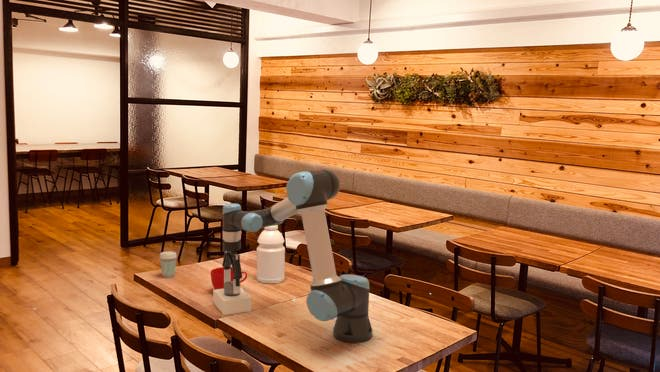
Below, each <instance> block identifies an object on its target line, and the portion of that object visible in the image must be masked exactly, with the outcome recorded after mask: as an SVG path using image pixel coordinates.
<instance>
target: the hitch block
mask: <svg viewBox="0 0 660 372" xmlns="http://www.w3.org/2000/svg"><path fill="white" fill-rule="evenodd" d="M212 293H213V294H212V295H213V297H212V298H213V301H212V304H213V305H214V306H216V308H217V310H219V312H220V314H222V315H223V316H228V315H235V314H242V313H247V312H252V296H251V295H249V293H247V292H246V291H245V290H244V289H243V287H241V286H240V295H238V296H225V295H224V289H216V290H215V289H213V290H212Z"/></svg>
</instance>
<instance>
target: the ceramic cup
mask: <svg viewBox="0 0 660 372" xmlns="http://www.w3.org/2000/svg"><path fill="white" fill-rule="evenodd" d="M224 270H225V269H224V267H223V266H222V267H216V268H213V269H211V270H210V281H211V285H212V287H213V288H214V290H216V289H224ZM241 272H242V274H245V275H244V278H242V280H241V279H240V284H241V283H243V282H244V281H246V279H247V277H248V274H247V272H246V271H241ZM233 277H234V274H233V269H232V266H231V281H233Z"/></svg>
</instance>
